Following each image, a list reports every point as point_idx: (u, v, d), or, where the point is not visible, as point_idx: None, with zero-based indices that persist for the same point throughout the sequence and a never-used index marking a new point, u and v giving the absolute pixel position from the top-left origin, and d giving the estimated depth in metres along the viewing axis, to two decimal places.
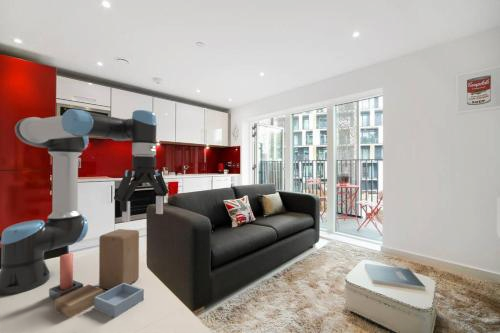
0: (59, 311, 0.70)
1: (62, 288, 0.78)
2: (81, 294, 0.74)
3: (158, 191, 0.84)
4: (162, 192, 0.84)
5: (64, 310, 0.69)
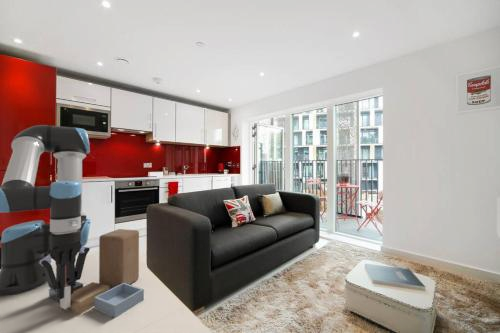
0: (67, 308, 0.71)
1: None
2: (88, 291, 0.75)
3: (68, 276, 0.71)
4: (72, 279, 0.71)
5: (73, 307, 0.70)
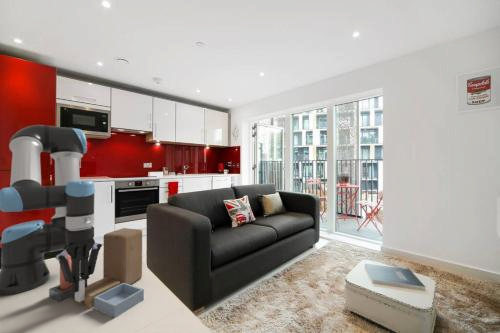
0: None
1: (62, 288, 0.78)
2: (100, 286, 0.79)
3: (83, 270, 0.74)
4: (86, 273, 0.75)
5: (85, 300, 0.74)
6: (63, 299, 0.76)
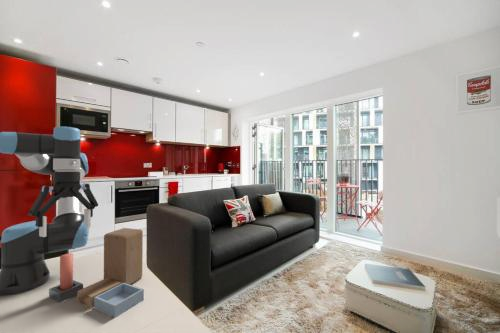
0: (81, 302, 0.75)
1: (62, 288, 0.78)
2: (101, 286, 0.79)
3: (85, 204, 0.85)
4: (90, 205, 0.86)
5: (86, 301, 0.74)
6: (63, 299, 0.76)
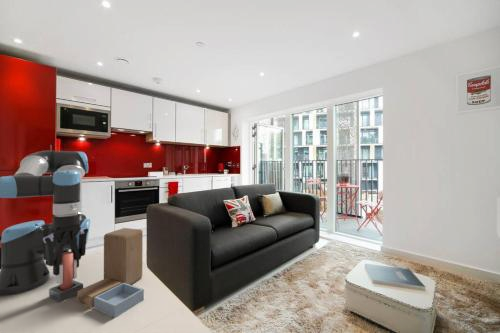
0: (81, 302, 0.75)
1: (62, 286, 0.78)
2: (101, 286, 0.79)
3: (74, 252, 0.82)
4: (77, 255, 0.82)
5: (86, 301, 0.74)
6: (63, 299, 0.76)
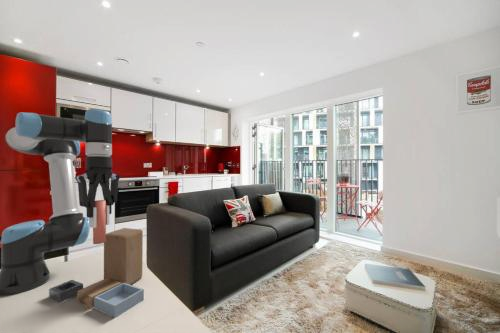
0: (81, 302, 0.75)
1: (96, 234, 0.74)
2: (101, 286, 0.79)
3: (106, 197, 0.78)
4: (110, 200, 0.78)
5: (86, 301, 0.74)
6: (63, 299, 0.76)
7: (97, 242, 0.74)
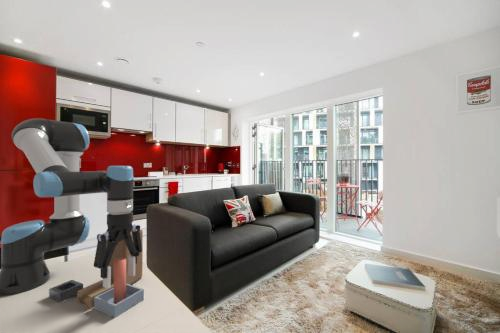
0: (81, 302, 0.75)
1: (116, 295, 0.73)
2: (101, 286, 0.79)
3: (131, 250, 0.78)
4: (135, 251, 0.79)
5: (86, 301, 0.74)
6: (63, 299, 0.76)
7: None
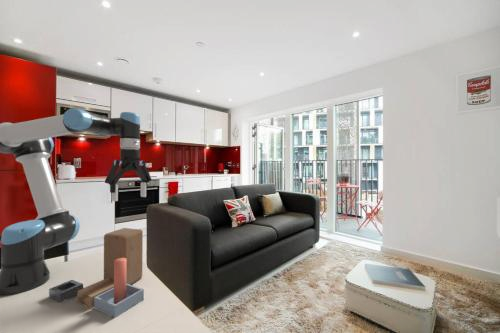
0: (81, 302, 0.75)
1: (116, 295, 0.73)
2: (101, 286, 0.79)
3: (142, 178, 1.02)
4: (145, 179, 1.03)
5: (86, 301, 0.74)
6: (63, 299, 0.76)
7: None
